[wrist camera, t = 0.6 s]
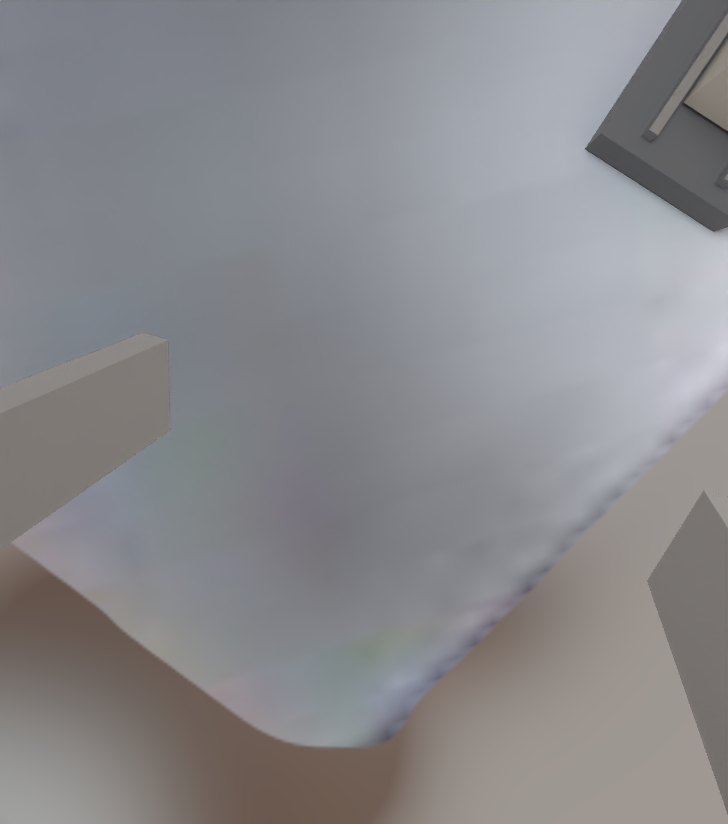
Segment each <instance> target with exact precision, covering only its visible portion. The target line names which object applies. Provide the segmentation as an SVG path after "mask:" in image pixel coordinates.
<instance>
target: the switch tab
mask: <svg viewBox="0 0 728 824" xmlns="http://www.w3.org/2000/svg"><path fill="white" fill-rule="evenodd" d="M683 103H685V104H687V105H688V106H690V107H691V108H693V109H694V110H696V111H697V112H699V113H700V114H702V115H703V116H705V117H707V118H708V119H710V120H711V121H713V122H714V123H716V124H717V125H719V126H720V127H722V128H723V129H725V130H727V131H728V38H727V39H726V41H725V42H724V44H723V45H722V46H721V48H720V49H719V51H718V52H717V54H716V55H715V57H714V58H713V60H712V61H711V63H710V64H709V66H708V67H707V69H706V70H705V71H704V73H703V74H702V76H701V77H700V79H699V80H698V82H697V83H696V85H695V86H694V88H693V89H692V91H691V92H690V93H689V95H688V96H687V98H686V99H685V101H684V102H683Z"/></svg>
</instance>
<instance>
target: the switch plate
mask: <svg viewBox="0 0 728 824" xmlns="http://www.w3.org/2000/svg"><path fill="white" fill-rule="evenodd" d="M727 38H728V0H682V2H681V3H680V5H679V6H678V8H677V9H676V11H675V12H674V14H673V15H672V17H671V18H670V20H669V21H668V23H667V25H666V26H665V28H664V29H663V31H662V32H661V34H660V35H659V37H658V38H657V40H656V41H655V43H654V44H653V46H652V47H651V49H650V51H649V52H648V54H647V55H646V57H645V58H644V60H643V61H642V63H641V64H640V66H639V67H638V69H637V70H636V72H635V74H634V75H633V77H632V78H631V80H630V81H629V83H628V84H627V86H626V87H625V89H624V90H623V92H622V93H621V95H620V96H619V98H618V100H617V101H616V103H615V104H614V106H613V107H612V109H611V110H610V112H609V113H608V115H607V116H606V118H605V119H604V121H603V122H602V124H601V126H600V127H599V129H598V130H597V132H596V133H595V135H594V136H593V138H592V139H591V141H590V142H589V144H588V145H587V147H586V150H588V151H589V152H591V153H592V154H594V155H596V156H597V157H599V158H600V159H602V160H603V161H605V162H606V163H608V164H609V165H611V166H613V167H614V168H616V169H617V170H619V171H620V172H622V173H623V174H625V175H627V176H628V177H630V178H631V179H633V180H634V181H636V182H637V183H639V184H641V185H642V186H644V187H645V188H647V189H648V190H650V191H651V192H653V193H654V194H656V195H658V196H659V197H661V198H662V199H664V200H665V201H667V202H668V203H670V204H672V205H673V206H675V207H676V208H678V209H679V210H681V211H682V212H684V213H686V214H687V215H689V216H690V217H692V218H693V219H695V220H696V221H698V222H699V223H701V224H703V225H704V226H706V227H707V228H709V229H710V230H712V231H716V230H719V229H722V228H725V227H728V131H727V130H725V129H723V128H722V127H720V126H719V125H717V124H716V123H714V122H713V121H711V120H710V119H708V118H707V117H705V116H703V115H702V114H700V113H699V112H697V111H696V110H694V109H693V108H691V107H690V106H688V105H687V104H685V103H683V102H684V101H685V99H686V98H687V96H688V95H689V93H690V92H691V91H692V89H693V88H694V86H695V85H696V83H697V82H698V80H699V79H700V77H701V76H702V74H703V73H704V71H705V70H706V69H707V67H708V66H709V64H710V63H711V61H712V60H713V58H714V57H715V55H716V54H717V52H718V51H719V49H720V48H721V46H722V45H723V44H724V42H725V41H726V39H727Z"/></svg>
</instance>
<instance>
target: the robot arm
mask: <svg viewBox="0 0 728 824" xmlns="http://www.w3.org/2000/svg"><path fill="white" fill-rule="evenodd" d="M168 431H170V388H169V341H168V340H167V339H164V338H160V337H156V336H153V335H149V334H146V333H141V334H138V335H136V336H133V337H131V338H128V339H126V340H123V341H120V342H118V343H115V344H113V345H110V346H108V347H105V348H102V349H100V350H97V351H95V352H92V353H90V354H87V355H84V356H82V357H79V358H77V359H74V360H72V361H69V362H66V363H64V364H61V365H59V366H56V367H54V368H51V369H48V370H46V371H43V372H41V373H38V374H36V375H33V376H30V377H28V378H25V379H23V380H20V381H18V382H15V383H12V384H10V385H7V386H5V387H2V388H0V550H1V549H2V548H3V547H5V546H6V545H8V544H9V543H11V542H12V541H13V540H15V539H16V538H18V537H19V536H21V535H22V534H23V533H25V532H26V531H28V530H29V529H30V528H32V527H33V526H35V525H36V524H38V523H39V522H40V521H42V520H43V519H45V518H46V517H47V516H49V515H50V514H52V513H53V512H55V511H56V510H57V509H59V508H60V507H62V506H63V505H65V504H66V503H67V502H69V501H70V500H72V499H73V498H74V497H76V496H77V495H79V494H80V493H82V492H83V491H84V490H86V489H87V488H89V487H90V486H91V485H93V484H94V483H96V482H97V481H99V480H100V479H101V478H103V477H104V476H106V475H107V474H109V473H110V472H111V471H113V470H114V469H116V468H117V467H118V466H120V465H121V464H123V463H124V462H126V461H127V460H128V459H130V458H131V457H133V456H134V455H135V454H137V453H138V452H140V451H141V450H143V449H144V448H145V447H147V446H148V445H150V444H151V443H152V442H154V441H155V440H157V439H158V438H160V437H161V436H162V435H164V434H165V433H167V432H168ZM647 582H648V585H649V588H650V590H651V593H652V596H653V599H654V602H655V605H656V608H657V611H658V614H659V617H660V619H661V622H662V625H663V628H664V631H665V634H666V637H667V640H668V642H669V646H670V648H671V651H672V654H673V657H674V660H675V663H676V666H677V669H678V671H679V674H680V677H681V680H682V683H683V686H684V689H685V692H686V695H687V697H688V701H689V703H690V706H691V709H692V712H693V715H694V718H695V721H696V723H697V726H698V729H699V732H700V735H701V738H702V741H703V744H704V747H705V750H706V753H707V756H708V758H709V761H710V764H711V767H712V770H713V773H714V776H715V779H716V781H717V785H718V787H719V790H720V793H721V796H722V799H723V802H724V805H725V808H726V811H727V813H728V497H726V496H723V495H719V494H715V493H712V492H708V491H705V490H704V491H703V492H702V494H701V495H700V497H699V499H698V500H697V502H696V504H695V505H694V507H693V508H692V510H691V512H690V513H689V515H688V516H687V518H686V520H685V521H684V523H683V524H682V526H681V528H680V529H679V531H678V532H677V534H676V535H675V537H674V539H673V540H672V542H671V543H670V545H669V547H668V548H667V550H666V552H665V553H664V555H663V556H662V558H661V559H660V561H659V563H658V564H657V566H656V567H655V569H654V571H653V572H652V574H651V575H650V577H649V579H648V580H647Z"/></svg>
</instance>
